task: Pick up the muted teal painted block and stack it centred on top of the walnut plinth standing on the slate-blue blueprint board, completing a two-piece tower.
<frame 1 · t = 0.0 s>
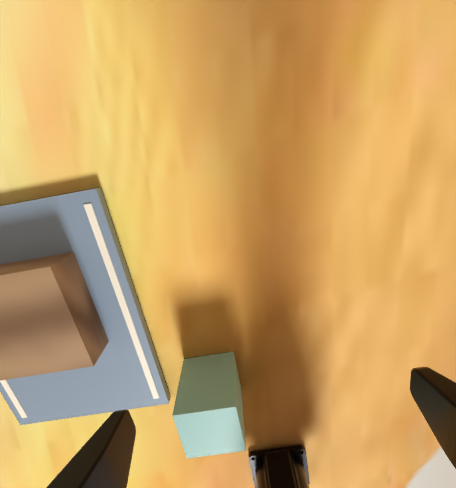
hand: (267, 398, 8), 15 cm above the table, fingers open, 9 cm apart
teal block: (213, 374, 27), on the table
blueprint board: (57, 321, 24), on the table
plinth: (43, 307, 23), point 1 cm above the table, touching blueprint board
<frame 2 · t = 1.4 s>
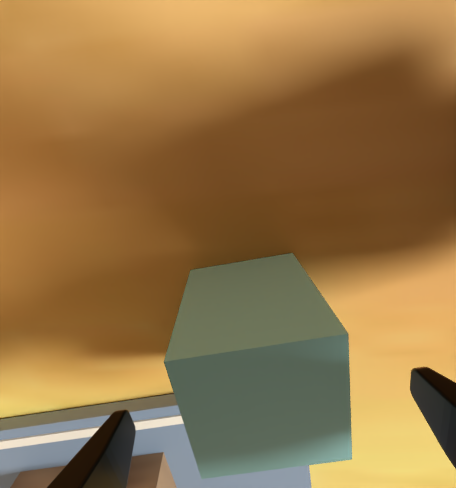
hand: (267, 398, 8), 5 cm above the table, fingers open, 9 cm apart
teal block: (248, 305, 14), on the table
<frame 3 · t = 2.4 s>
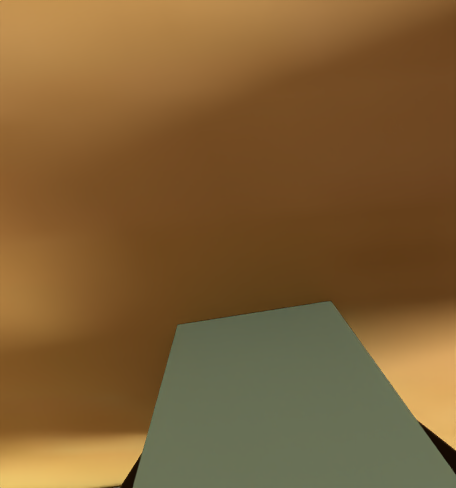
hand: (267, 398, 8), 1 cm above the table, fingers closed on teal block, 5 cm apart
teal block: (263, 372, 9), on the table, touching gripper
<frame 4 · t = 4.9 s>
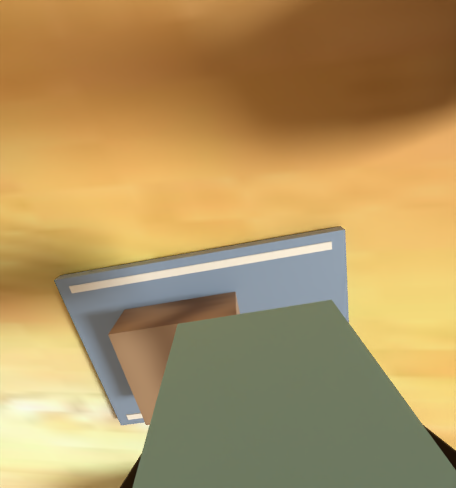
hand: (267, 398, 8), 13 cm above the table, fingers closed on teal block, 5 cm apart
teal block: (263, 371, 9), point 12 cm above the table, touching gripper
blueprint board: (216, 336, 23), on the table
plinth: (192, 346, 22), point 1 cm above the table, touching blueprint board
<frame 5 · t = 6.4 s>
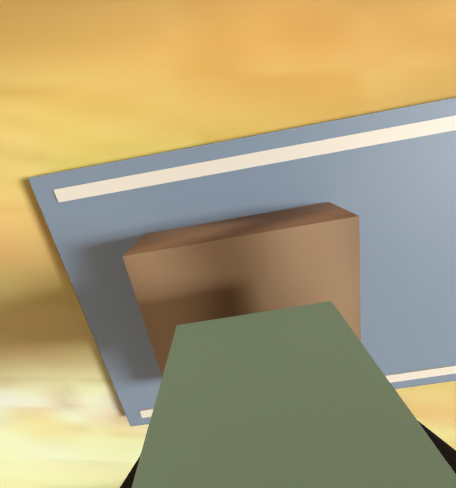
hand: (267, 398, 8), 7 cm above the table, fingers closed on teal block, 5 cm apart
teal block: (263, 373, 9), point 6 cm above the table, touching gripper
blueprint board: (282, 285, 15), on the table
plinth: (249, 298, 14), point 1 cm above the table, touching blueprint board
when the fingers open (6 cm above the table, at t = 7.3 s): teal block drops 1 cm, resting on plinth.
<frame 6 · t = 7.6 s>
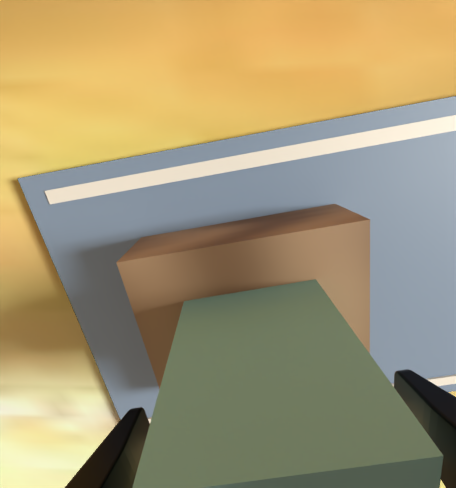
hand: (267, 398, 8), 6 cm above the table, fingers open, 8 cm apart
teal block: (258, 344, 11), point 4 cm above the table, touching plinth
blueprint board: (286, 290, 14), on the table
plinth: (250, 304, 13), point 1 cm above the table, touching blueprint board, teal block
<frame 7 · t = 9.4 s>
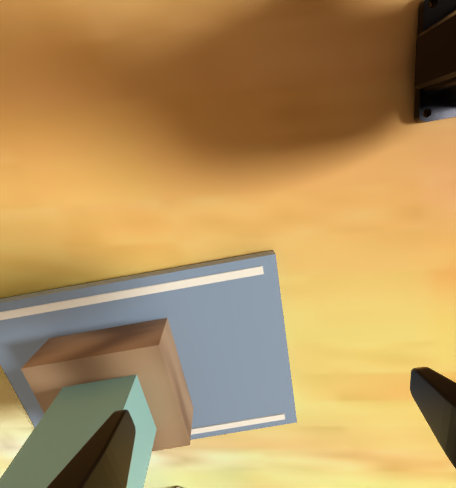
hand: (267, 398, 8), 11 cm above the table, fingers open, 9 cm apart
teal block: (111, 409, 18), point 4 cm above the table, touching plinth
blueprint board: (152, 363, 22), on the table
plinth: (125, 375, 21), point 1 cm above the table, touching blueprint board, teal block
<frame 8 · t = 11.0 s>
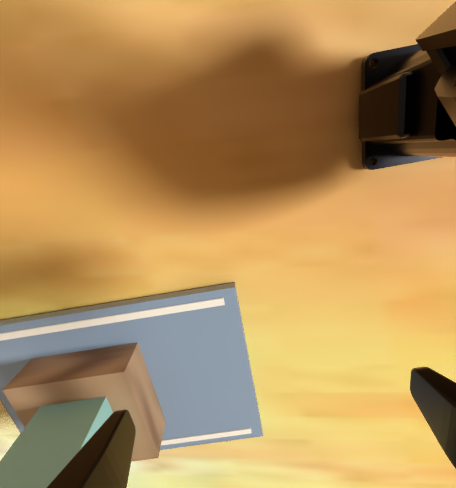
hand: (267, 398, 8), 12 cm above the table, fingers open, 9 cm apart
teal block: (85, 425, 20), point 4 cm above the table, touching plinth
blueprint board: (127, 381, 23), on the table
plinth: (102, 392, 23), point 1 cm above the table, touching blueprint board, teal block
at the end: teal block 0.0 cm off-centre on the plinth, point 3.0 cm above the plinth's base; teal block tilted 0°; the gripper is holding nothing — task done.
